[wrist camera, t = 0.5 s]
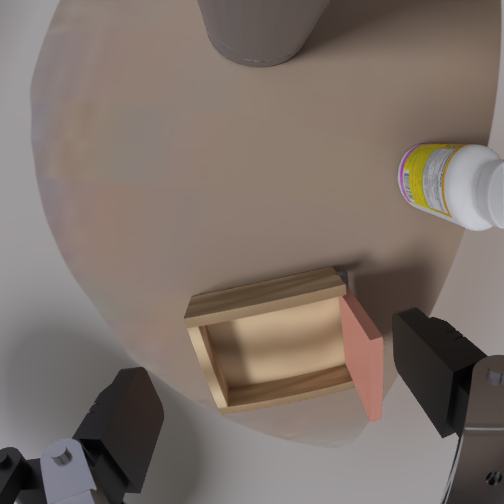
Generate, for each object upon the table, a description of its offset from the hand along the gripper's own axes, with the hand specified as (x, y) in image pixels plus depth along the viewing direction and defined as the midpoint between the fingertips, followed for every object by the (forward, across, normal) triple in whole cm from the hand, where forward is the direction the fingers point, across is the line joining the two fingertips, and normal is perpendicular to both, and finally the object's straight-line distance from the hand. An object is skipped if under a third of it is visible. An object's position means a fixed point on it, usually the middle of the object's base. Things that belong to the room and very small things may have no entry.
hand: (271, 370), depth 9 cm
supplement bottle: (+21, -18, -3) cm, 27 cm away
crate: (+22, +1, +10) cm, 24 cm away
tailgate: (+20, -7, +10) cm, 23 cm away
